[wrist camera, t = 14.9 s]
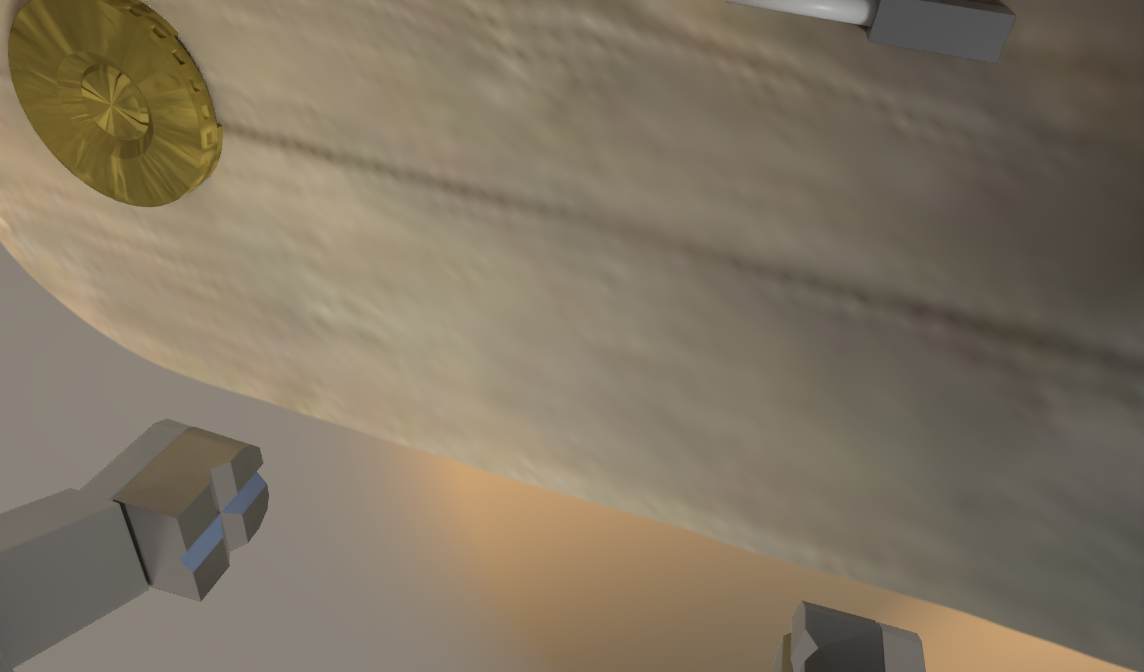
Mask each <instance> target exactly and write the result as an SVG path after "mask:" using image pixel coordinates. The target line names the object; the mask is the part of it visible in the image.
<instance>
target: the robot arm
mask: <svg viewBox="0 0 1144 672" xmlns="http://www.w3.org/2000/svg"><path fill="white" fill-rule="evenodd" d="M262 464H263V460H262V455H261V451H260V448H259V447H257V446H254V445H250V444H247V443H244V442H241V441H238V440H235V439H232V438H229V437H225V436H222V435H219V434H216V433H213V432H210V431H206V430H203V429H200V428H197V427H193V426H190V425H187V424H183V423H180V422H177V421H173V420H170V419H164V420H162V421H159V422H157V423H154V424H153V425H152V426H151V427H150V428H148V429H147V430H146V431H145V432H144V433H143V434H142V435H141V436H140V437H138V438H137V439H136V440H135V441H134V442H133V443H132V444H131V445H130V446H128V447H127V448H126V449H125V450H124V451H123V452H122V453H120V454H119V455H118V456H117V457H116V458H115V459H114V460H113V461H111V462H110V463H109V464H108V465H107V466H106V467H105V468H104V469H103V470H101V471H100V472H99V473H98V474H97V475H96V476H95V477H93V478H92V479H91V480H90V481H89V482H88V483H87V484H86V485H85V486H83V487H82V488H81V489H80V490H76V489H72V488H69V489H66V490H64V491H61V492H58V493H56V494H53V495H51V496H47V497H45V498H42V499H39V500H36V501H34V502H31V503H29V504H26V505H23V506H20V507H17V508H15V509H12V510H9V511H7V512H4V513H1V514H0V672H14V671H13V670H12V669H13V668H15V667H17V666H18V665H20V664H22V663H24V662H25V661H27V660H29V659H30V658H32V657H34V656H36V655H37V654H39V653H41V652H42V651H44V650H46V649H48V648H49V647H51V646H53V645H55V644H56V643H58V642H60V641H61V640H63V639H65V638H67V637H68V636H70V635H72V634H74V633H76V632H77V631H79V630H81V629H82V628H84V627H86V626H88V625H89V624H91V623H93V622H95V621H96V620H98V619H100V618H101V617H103V616H105V615H107V614H108V613H110V612H112V611H114V610H115V609H117V608H119V607H120V606H122V605H124V604H126V603H127V602H129V601H131V600H133V599H134V598H136V597H138V596H139V595H141V594H143V593H145V592H146V591H148V590H149V587H152V588H156V589H159V590H163V591H166V592H169V593H173V594H177V595H180V596H183V597H187V598H190V599H194V600H197V601H200V602H201V601H202V600H203V599H204V597H205V596H206V595H207V593H208V592H209V591H210V590H211V589H212V587H213V586H214V585H215V584H216V582H217V581H218V580H219V579H220V577H221V576H222V575H223V574H224V572H225V571H226V570H227V569H228V567H229V566H230V565H229V564H230V561H229V560H230V558H229V557H230V556H229V554H230V551H232V550H234V549H236V548H238V547H241V546H243V545H245V544H247V543H248V542H249V541H250V540H251V538H252V537H253V536H254V534H255V533H256V532H257V530H258V529H259V527H260V525H261V523H262V521H263V519H264V516H265V514H266V511H267V508H268V500H269V493H268V486H267V483H266V482H265V481H264V480H263V479H262V477H261V476H260V475H259V474H258V473H257V470H258V469H259V468H260V467H261V466H262ZM148 586H149V587H148ZM772 672H926V669H925V662H924V655H923V647H922V641H921V639H920V638H919V636H918V634H917V633H914V632H911V631H907V630H904V629H900V628H897V627H893V626H890V625H886V624H882V623H879V622H875V620H871V619H868V618H864V617H860V616H856V615H853V614H849V613H845V612H842V611H838V610H834V609H831V608H827V607H823V606H820V605H816V604H812V603H808V602H805V601H801V602H800V603H799V604H798V606H797V608H796V610H795V612H794V614H793V616H792V633H789V634H787V635H785V636H783V638H782V641H781V643H780V645H779V648H778V651H777V654H776V658H775V662H774V666H773V671H772Z"/></svg>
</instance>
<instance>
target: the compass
mask: <svg viewBox="0 0 1144 672" xmlns="http://www.w3.org/2000/svg"><path fill="white" fill-rule="evenodd" d="M177 35H178V32H177V31H176V30H175V29H174V28H173V27H172V26H171V25H170V24H169V23H168V22H167V21H166V20H165V19H164V18H162V17H161V16H160V15H159V14H158V13H157V12H155V11H154V10H152V9H151V8H150V7H148V6H147V5H145V4H144V3H142V2H141V1H139V0H31V1H29V2H28V3H26V4H25V5H24V7H23V8H22V9H21V10H20V11H19V13H18V14H17V16H16V18H15V20H14V22H13V25H12V28H11V31H10V37H9V46H8V56H9V67H10V72H11V77H12V81H13V84H14V87H15V91H16V94H17V96H18V99H19V101H20V104H21V106H22V108H23V110H24V112H25V114H26V116H27V118H28V120H29V121H30V123H31V125H32V126H33V128H34V130H35V131H36V133H37V134H38V136H39V137H40V138H41V140H42V141H43V143H44V144H45V145H46V146H47V148H48V149H49V150H50V151H51V152H52V154H53V155H54V156H55V157H56V158H57V159H58V160H59V161H60V162H61V163H62V164H63V165H64V166H65V167H66V168H67V169H68V170H69V171H70V172H71V173H72V174H74V175H75V176H76V177H77V178H79V179H80V180H81V181H83V182H84V183H85V184H87V185H88V186H90V187H91V188H93V189H94V190H96V191H98V192H100V193H101V194H103V195H105V196H107V197H110V198H112V199H114V200H116V201H119V202H122V203H126V204H129V205H134V206H141V207H155V206H162V205H166V204H169V203H171V202H173V201H175V200H177V199H179V198H181V197H182V196H184V195H186V194H188V193H189V192H191V191H193V190H194V189H195V188H197V187H198V186H199V185H200V184H201V183H202V182H203V181H204V180H205V179H207V178H208V177H210V176H211V174H212V173H213V171H214V170H215V168H216V166H217V163H218V161H219V158H220V154H221V150H222V140H223V131H222V125H219V124H217V123H216V116H215V112H214V108H213V104H212V101H211V98H210V95H209V93H208V90H207V87H206V85H205V83H204V81H203V79H202V77H201V75H200V73H199V71H198V69H197V68H196V66H195V64H194V63H193V61H192V59H191V58H190V57H189V55H188V54H187V52H186V51H185V49H184V48H183V47H182V46H181V44H180V43H179V42H178V41H177V39H176V38H175V37H176V36H177Z"/></svg>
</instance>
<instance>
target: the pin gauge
mask: <svg viewBox="0 0 1144 672" xmlns="http://www.w3.org/2000/svg"><path fill="white" fill-rule="evenodd" d="M726 2H729V3H735V4H741V5H747V6H752V7H758V8H764V9H770V10H776V11H782V12H788V13H794V14H800V15H806V16H811V17H817V18H823V19H829V20H835V21H841V22H847V23H853V24H859V25H864V26H868V27H867V30H866V34H867V39H868V41H869V42H875V43H881V44H887V45H892V46H898V47H904V48H910V49H916V50H921V51H927V52H933V53H939V54H945V55H950V56H956V57H962V58H968V59H974V60H979V61H985V62H991V63H997V60H998V58H999V55H1000V53H1001V51H1002V48H1003V46H1004V44H1005V41H1006V39H1007V37H1008V34H1009V32H1010V29H1011V27H1012V25H1013V22H1014V20H1015V18H1016V15H1015V14H1014V13H1013V12H1012V11H1011V10H1010V9H1009V8H1008V7H1005V6H998V5H992V4H986V3H980V2H974V1H967V0H726Z"/></svg>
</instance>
